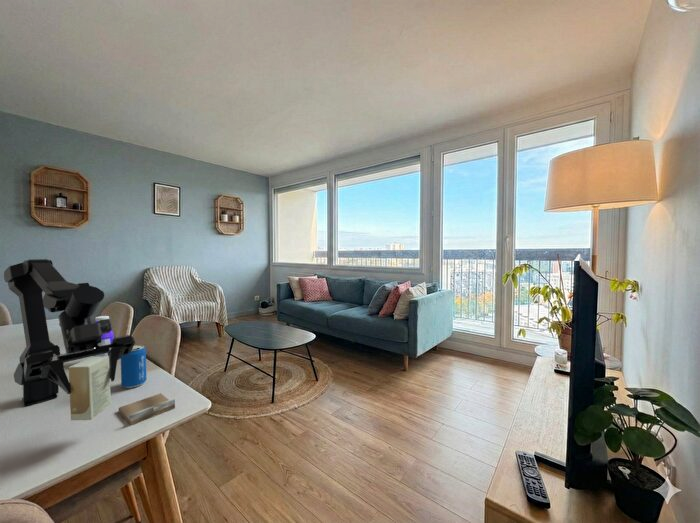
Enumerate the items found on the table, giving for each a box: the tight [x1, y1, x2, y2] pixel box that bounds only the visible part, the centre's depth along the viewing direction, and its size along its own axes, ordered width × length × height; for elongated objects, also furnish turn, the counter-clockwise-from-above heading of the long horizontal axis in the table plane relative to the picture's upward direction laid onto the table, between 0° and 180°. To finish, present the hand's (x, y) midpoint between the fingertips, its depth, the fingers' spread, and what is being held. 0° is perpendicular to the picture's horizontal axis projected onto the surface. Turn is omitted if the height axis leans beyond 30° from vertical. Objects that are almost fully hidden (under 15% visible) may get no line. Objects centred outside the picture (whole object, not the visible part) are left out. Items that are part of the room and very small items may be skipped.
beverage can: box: [120, 344, 147, 389], centre depth 92 cm, size 6×6×12 cm
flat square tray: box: [118, 393, 176, 426], centre depth 78 cm, size 10×10×2 cm
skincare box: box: [68, 356, 112, 421], centre depth 66 cm, size 6×4×12 cm
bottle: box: [92, 315, 115, 357], centre depth 111 cm, size 7×6×17 cm
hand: (92, 386), depth 65 cm, fingers closed on skincare box, 7 cm apart
